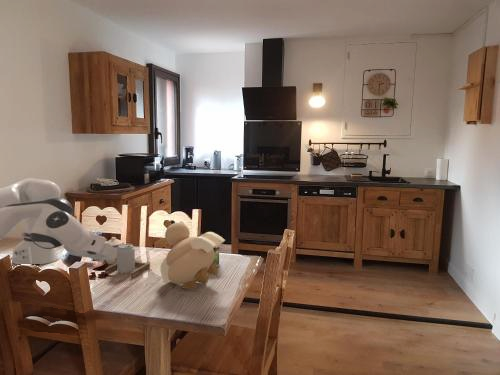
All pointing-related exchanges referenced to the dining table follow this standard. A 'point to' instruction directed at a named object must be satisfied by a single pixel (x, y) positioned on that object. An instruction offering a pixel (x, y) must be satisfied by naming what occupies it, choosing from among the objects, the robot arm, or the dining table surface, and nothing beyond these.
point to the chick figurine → (189, 256)
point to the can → (125, 258)
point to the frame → (141, 268)
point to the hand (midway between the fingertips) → (100, 259)
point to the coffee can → (216, 251)
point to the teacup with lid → (115, 244)
